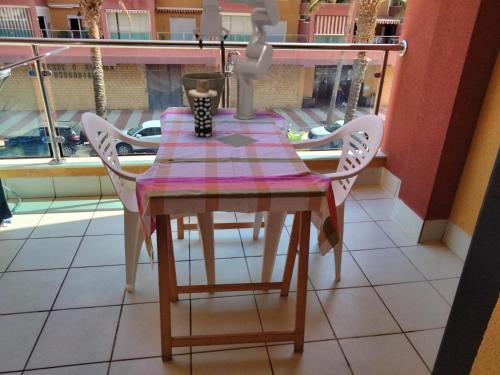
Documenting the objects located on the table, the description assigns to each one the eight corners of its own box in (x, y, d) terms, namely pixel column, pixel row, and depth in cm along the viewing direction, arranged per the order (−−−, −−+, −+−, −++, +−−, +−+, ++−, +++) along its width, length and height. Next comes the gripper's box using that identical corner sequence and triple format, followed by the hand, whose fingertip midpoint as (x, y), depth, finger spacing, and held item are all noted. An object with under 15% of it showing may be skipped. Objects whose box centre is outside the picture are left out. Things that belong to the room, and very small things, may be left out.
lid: (204, 90, 179) (204, 77, 177) (222, 95, 171) (222, 81, 169) (182, 93, 171) (182, 80, 168) (201, 98, 163) (200, 84, 160)
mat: (237, 134, 184) (237, 133, 184) (259, 141, 175) (259, 140, 174) (214, 140, 174) (214, 139, 174) (236, 148, 165) (236, 147, 164)
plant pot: (174, 115, 212) (172, 76, 203) (194, 106, 233) (193, 70, 224) (214, 120, 205) (214, 80, 195) (231, 111, 226) (232, 74, 217)
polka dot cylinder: (213, 134, 183) (213, 93, 174) (210, 139, 176) (209, 96, 167) (197, 132, 184) (196, 92, 175) (193, 138, 176) (191, 95, 168)
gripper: (230, 10, 173) (229, 49, 181) (193, 9, 173) (194, 48, 180) (229, 10, 167) (229, 50, 174) (191, 9, 166) (192, 49, 174)
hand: (211, 49), depth 177 cm, fingers open, 9 cm apart
